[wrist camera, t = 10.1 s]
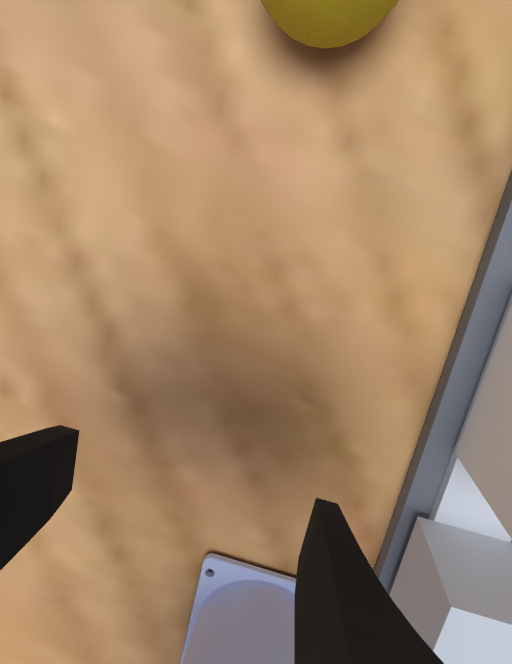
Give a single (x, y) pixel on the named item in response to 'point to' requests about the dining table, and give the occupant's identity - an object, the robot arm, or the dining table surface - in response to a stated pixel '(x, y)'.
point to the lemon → (328, 19)
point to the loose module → (493, 431)
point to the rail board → (457, 494)
